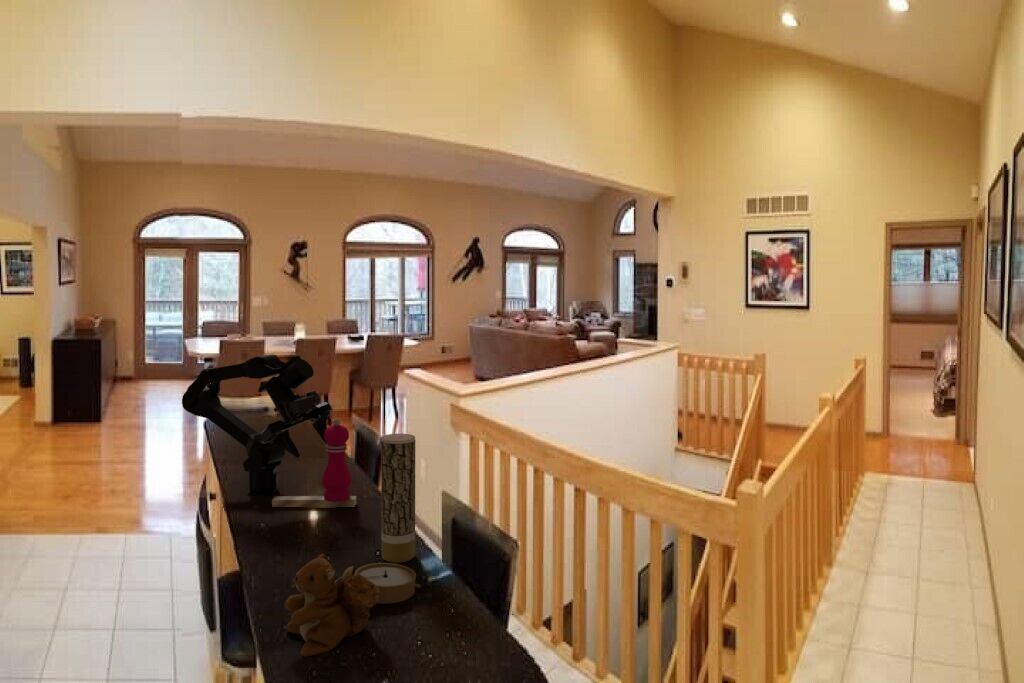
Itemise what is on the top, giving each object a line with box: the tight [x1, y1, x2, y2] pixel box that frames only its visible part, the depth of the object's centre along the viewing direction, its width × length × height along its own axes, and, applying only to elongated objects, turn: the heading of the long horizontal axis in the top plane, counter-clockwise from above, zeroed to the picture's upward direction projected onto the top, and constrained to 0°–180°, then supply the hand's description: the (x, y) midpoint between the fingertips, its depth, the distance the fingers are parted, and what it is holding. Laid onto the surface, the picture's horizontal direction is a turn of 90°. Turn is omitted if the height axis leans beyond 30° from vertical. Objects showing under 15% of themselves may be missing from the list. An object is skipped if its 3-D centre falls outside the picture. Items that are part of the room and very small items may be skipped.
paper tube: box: [380, 433, 416, 564], centre depth 145 cm, size 7×7×25 cm
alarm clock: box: [334, 562, 422, 605], centre depth 129 cm, size 11×5×15 cm
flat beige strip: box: [271, 495, 357, 509], centre depth 177 cm, size 20×3×2 cm, turn 93°
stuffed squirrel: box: [284, 553, 380, 658], centre depth 113 cm, size 10×14×13 cm
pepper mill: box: [321, 418, 353, 502], centre depth 176 cm, size 7×7×20 cm
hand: (313, 450), depth 181 cm, fingers open, 9 cm apart
